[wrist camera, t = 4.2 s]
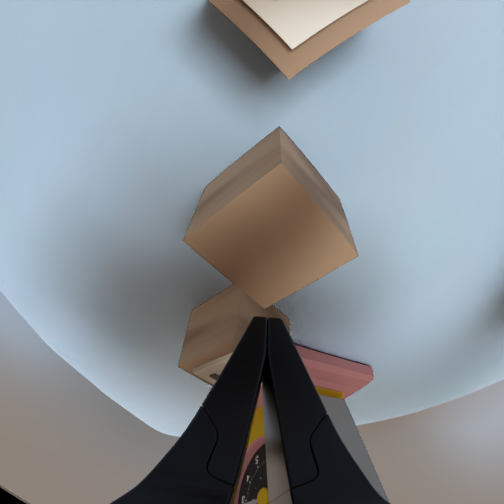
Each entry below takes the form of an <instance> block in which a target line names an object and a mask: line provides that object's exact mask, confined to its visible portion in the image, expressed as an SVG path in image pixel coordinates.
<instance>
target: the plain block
mask: <svg viewBox="0 0 504 504" xmlns="http://www.w3.org/2000/svg"><path fill="white" fill-rule="evenodd" d="M183 241H184V242H185V243H186V244H187V245H188V246H190V247H191V248H192V249H193V250H194V251H195V252H197V253H198V254H199V255H200V256H201V257H202V258H204V259H205V260H206V261H207V262H208V263H210V264H211V265H212V266H213V267H214V268H216V269H217V270H218V271H219V272H220V273H221V274H223V275H224V276H225V277H226V278H227V279H229V280H230V281H231V282H232V283H234V284H235V285H236V286H237V287H238V288H240V289H241V290H242V291H243V292H244V293H246V294H247V295H248V296H249V297H251V298H252V299H253V300H254V301H255V302H257V303H258V304H259V305H260V306H262V307H263V308H264V309H265V308H267V307H269V306H271V305H272V304H274V303H276V302H278V301H280V300H282V299H283V298H285V297H287V296H289V295H291V294H293V293H294V292H296V291H298V290H300V289H302V288H303V287H305V286H307V285H309V284H311V283H312V282H314V281H316V280H318V279H319V278H321V277H323V276H325V275H326V274H328V273H330V272H332V271H333V270H335V269H337V268H339V267H340V266H342V265H344V264H345V263H347V262H349V261H351V260H352V259H354V258H356V257H357V256H359V255H358V252H357V249H356V246H355V243H354V240H353V237H352V234H351V231H350V228H349V225H348V222H347V219H346V216H345V213H344V210H343V208H342V205H341V202H340V199H339V197H338V196H337V195H336V193H335V192H334V191H333V190H332V188H331V187H330V186H329V185H328V183H327V182H326V181H325V179H324V178H323V177H322V176H321V174H320V173H319V172H318V171H317V170H316V168H315V167H314V166H313V165H312V163H311V162H310V161H309V160H308V159H307V157H306V156H305V155H304V154H303V153H302V151H301V150H300V149H299V148H298V147H297V146H296V144H295V143H294V142H293V141H292V140H291V139H290V137H289V136H288V135H287V134H286V133H285V132H284V131H283V129H282V128H281V127H280V126H279V127H278V128H277V129H275V130H274V131H273V132H271V133H270V134H269V135H268V136H266V137H265V138H264V139H262V140H261V141H260V142H259V143H257V144H256V145H255V146H254V147H252V148H251V149H250V150H249V151H247V152H246V153H245V154H244V155H243V156H241V157H240V158H239V159H238V160H236V161H235V162H234V163H233V164H232V165H230V166H229V167H228V168H227V169H226V170H224V171H223V172H222V173H221V174H220V175H218V176H217V177H216V178H215V179H214V180H213V181H211V182H210V183H209V184H208V185H207V186H206V187H205V190H204V192H203V194H202V196H201V199H200V201H199V203H198V205H197V208H196V210H195V212H194V215H193V217H192V219H191V222H190V224H189V227H188V229H187V231H186V234H185V236H184V239H183Z"/></svg>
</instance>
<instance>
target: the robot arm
mask: <svg viewBox="0 0 504 504" xmlns="http://www.w3.org/2000/svg"><path fill="white" fill-rule="evenodd" d="M261 383H262V398H263V414H264V431H265V448H266V464H267V481H268V498H269V504H390V503H389V502H388V501H386V500H385V499H384V498H383V497H382V496H381V495H380V494H379V493H378V492H377V491H376V490H375V489H374V487H373V486H372V485H371V483H370V482H369V481H368V479H367V478H366V476H365V475H364V473H363V472H362V470H361V469H360V467H359V466H358V464H357V463H356V461H355V460H354V458H353V457H352V455H351V454H350V452H349V451H348V449H347V448H346V446H345V444H344V443H343V441H342V440H341V438H340V436H339V434H338V432H337V430H336V428H335V426H334V425H333V422H332V420H331V418H330V416H329V414H326V413H327V410H326V408H325V406H324V404H323V402H322V400H321V398H320V396H319V394H318V392H317V390H316V388H315V385H314V383H313V381H312V379H311V377H310V375H309V373H308V371H307V369H306V367H305V365H304V363H303V361H302V359H301V356H300V354H299V352H298V350H297V348H296V346H295V344H294V342H293V340H292V338H291V336H290V334H289V332H288V330H287V327H286V325H285V323H284V321H283V320H282V319H281V318H277V317H269V318H268V319H267V317H263V316H254V317H253V318H252V320H251V321H250V323H249V325H248V327H247V329H246V330H245V332H244V334H243V336H242V337H241V339H240V341H239V343H238V344H237V346H236V348H235V349H234V351H233V353H232V355H231V356H230V358H229V360H228V362H227V363H226V365H225V367H224V368H223V370H222V372H221V373H220V375H219V377H218V379H217V380H216V382H215V384H214V385H213V387H212V389H211V390H210V392H209V394H208V395H207V397H206V399H205V400H204V402H203V404H202V406H201V407H200V408H199V410H198V412H197V413H196V415H195V417H194V418H193V420H192V421H191V423H190V424H189V426H188V427H187V429H186V430H185V432H184V433H183V434H182V435H181V437H180V438H179V439H178V441H177V442H176V443H175V445H174V446H173V447H172V448H171V449H170V450H169V452H168V453H167V454H166V455H165V456H164V457H163V459H162V460H161V461H160V462H159V463H158V464H157V465H156V466H155V468H154V469H153V470H152V471H151V472H150V473H149V474H148V475H147V476H146V477H145V478H144V479H143V480H142V481H141V482H140V483H139V484H138V485H137V486H136V487H134V488H133V489H132V490H130V491H129V492H127V493H126V494H124V495H123V496H121V497H119V498H118V499H116V500H115V501H113V502H112V503H110V504H234V500H235V496H236V493H237V489H238V485H239V480H240V476H241V472H242V468H243V464H244V460H245V456H246V451H247V447H248V443H249V439H250V434H251V430H252V425H253V421H254V417H255V412H256V408H257V403H258V398H259V394H260V389H261ZM0 504H30V503H28V502H27V501H25V500H23V499H22V498H20V497H18V496H16V495H15V494H13V493H12V492H10V491H9V490H7V489H5V488H4V487H2V486H1V485H0Z"/></svg>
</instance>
